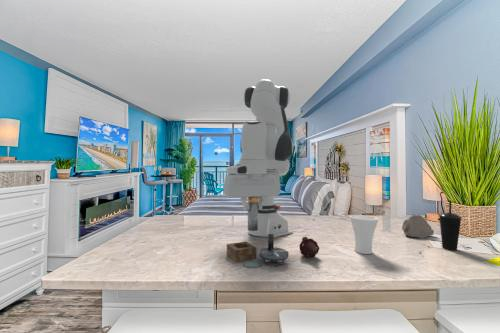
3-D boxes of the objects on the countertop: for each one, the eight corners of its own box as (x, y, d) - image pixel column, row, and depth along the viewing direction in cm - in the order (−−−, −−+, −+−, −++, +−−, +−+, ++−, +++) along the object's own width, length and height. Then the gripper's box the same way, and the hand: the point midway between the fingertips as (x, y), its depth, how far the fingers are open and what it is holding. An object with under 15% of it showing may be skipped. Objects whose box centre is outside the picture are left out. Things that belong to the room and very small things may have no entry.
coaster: (255, 260, 91) (255, 259, 91) (263, 266, 86) (263, 264, 86) (241, 263, 89) (241, 261, 89) (248, 268, 84) (248, 267, 84)
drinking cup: (458, 247, 110) (459, 200, 110) (464, 253, 103) (464, 202, 103) (436, 245, 113) (437, 198, 113) (440, 250, 106) (441, 200, 106)
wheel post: (276, 257, 94) (276, 253, 94) (286, 263, 89) (286, 259, 89) (261, 260, 92) (262, 256, 92) (271, 266, 86) (271, 262, 86)
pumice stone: (409, 238, 123) (409, 217, 123) (398, 234, 131) (398, 214, 131) (438, 237, 125) (438, 217, 125) (425, 233, 132) (426, 214, 132)
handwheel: (292, 259, 86) (293, 241, 86) (263, 261, 84) (263, 242, 84) (282, 250, 96) (283, 233, 96) (256, 251, 94) (256, 234, 94)
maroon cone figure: (328, 245, 89) (313, 237, 104) (308, 240, 89) (296, 232, 104) (323, 265, 88) (309, 254, 103) (303, 260, 88) (291, 250, 103)
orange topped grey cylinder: (254, 228, 90) (255, 196, 90) (259, 230, 87) (260, 197, 87) (245, 229, 88) (246, 196, 88) (250, 231, 85) (251, 197, 85)
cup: (355, 245, 110) (356, 213, 110) (382, 251, 103) (382, 217, 103) (344, 251, 103) (345, 217, 103) (372, 258, 95) (372, 221, 95)
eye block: (246, 251, 100) (246, 241, 100) (256, 258, 93) (256, 247, 93) (226, 254, 97) (226, 244, 97) (235, 262, 90) (235, 250, 90)
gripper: (274, 168, 95) (273, 206, 95) (222, 168, 86) (221, 210, 85) (284, 169, 89) (283, 209, 89) (229, 168, 80) (228, 213, 80)
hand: (252, 209), depth 87 cm, fingers closed on orange topped grey cylinder, 3 cm apart
